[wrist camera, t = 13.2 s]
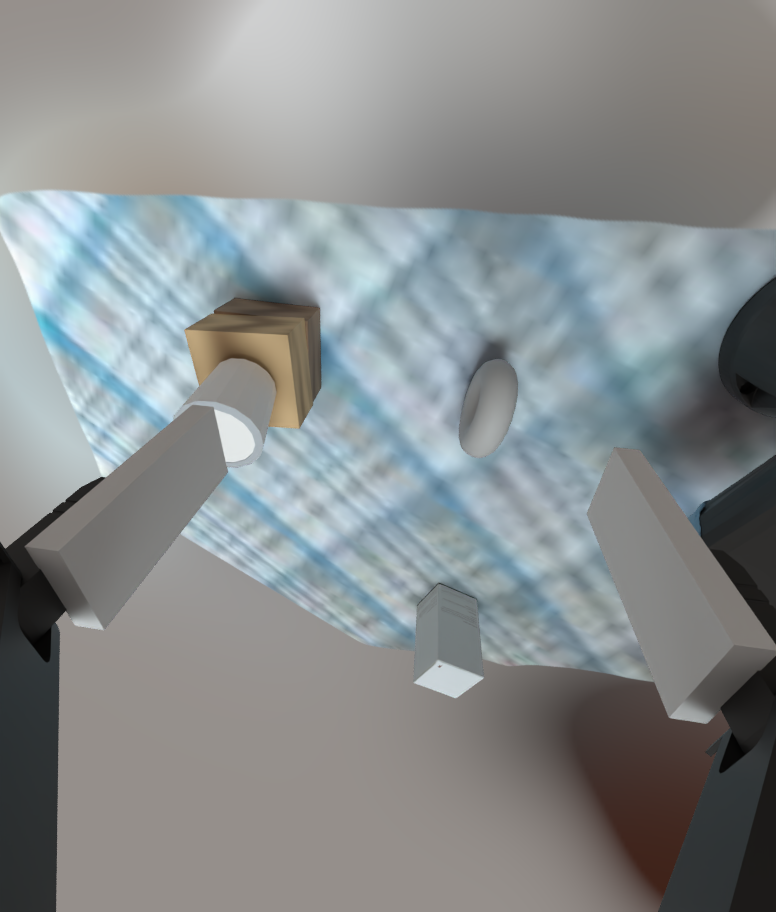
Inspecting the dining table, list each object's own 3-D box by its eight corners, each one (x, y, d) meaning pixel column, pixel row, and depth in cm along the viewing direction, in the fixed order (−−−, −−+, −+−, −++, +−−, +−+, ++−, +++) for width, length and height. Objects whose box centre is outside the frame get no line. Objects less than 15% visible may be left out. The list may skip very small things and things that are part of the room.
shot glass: (266, 346, 34) (241, 396, 29) (293, 411, 38) (276, 464, 33) (190, 357, 35) (153, 407, 30) (226, 419, 39) (198, 472, 34)
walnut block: (320, 307, 42) (307, 321, 38) (321, 386, 47) (310, 406, 43) (235, 297, 43) (213, 310, 39) (245, 377, 48) (227, 396, 44)
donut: (481, 429, 48) (489, 481, 40) (453, 422, 48) (455, 473, 40) (515, 349, 42) (532, 390, 34) (482, 340, 42) (492, 380, 34)
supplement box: (415, 605, 68) (410, 683, 58) (438, 581, 64) (438, 660, 54) (453, 621, 69) (455, 700, 59) (478, 599, 65) (485, 679, 55)
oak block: (304, 317, 38) (287, 335, 34) (312, 404, 43) (299, 428, 39) (211, 313, 39) (184, 329, 35) (230, 399, 44) (209, 422, 40)
